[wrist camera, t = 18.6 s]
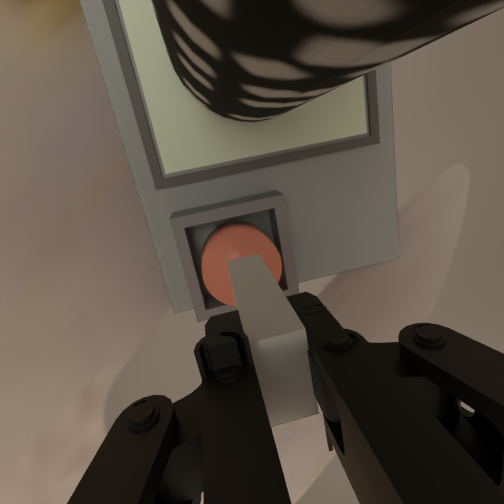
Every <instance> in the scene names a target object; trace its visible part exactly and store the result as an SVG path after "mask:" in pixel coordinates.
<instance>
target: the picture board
mask: <svg viewBox="0 0 504 504" xmlns="http://www.w3.org/2000/svg"><path fill="white" fill-rule="evenodd" d="M80 3H81V6H82V10H83V13H84V16H85V20H86V23H87V26H88V29H89V33H90V36H91V39H92V43H93V46H94V49H95V53H96V56H97V59H98V63H99V66H100V69H101V72H102V76H103V79H104V82H105V86H106V89H107V92H108V96H109V99H110V102H111V106H112V109H113V112H114V115H115V119H116V122H117V125H118V129H119V132H120V135H121V139H122V142H123V145H124V148H125V152H126V155H127V158H128V162H129V165H130V168H131V172H132V175H133V178H134V182H135V185H136V188H137V191H138V195H139V198H140V201H141V205H142V208H143V211H144V215H145V218H146V221H147V224H148V228H149V231H150V234H151V238H152V241H153V244H154V248H155V251H156V254H157V258H158V261H159V264H160V267H161V271H162V274H163V277H164V281H165V284H166V287H167V291H168V294H169V297H170V300H171V304H172V307H173V310H174V313H178V312H182V311H186V310H190V309H194V310H195V313H196V317H197V321H198V322H200V321H203V320H208V319H209V318H210V317H211V316H215V315H219V314H223V313H227V312H231V311H235V310H237V306H230V305H227V304H224V303H222V302H220V301H219V300H217V299H216V298H215V297H213V296H212V295H211V293H210V292H209V291H208V289H207V288H206V286H205V284H204V281H203V276H202V248H203V245H204V242H205V240H206V239H207V237H208V236H209V234H210V233H211V232H212V231H213V230H214V229H216V228H217V227H219V226H220V225H222V224H224V223H227V222H232V221H244V222H248V223H251V224H253V225H255V226H257V227H258V228H260V229H261V230H262V231H263V232H264V233H265V234H266V236H267V237H268V238H269V239H270V240H271V242H272V243H273V244H274V245H275V247H276V248H277V250H278V252H279V254H280V257H281V262H282V272H281V277H280V280H279V282H278V285H279V287H280V288H281V290H282V291H283V293H284V295H285V296H286V297H287V296H291V295H295V294H299V288H298V283H300V282H304V281H308V280H312V279H316V278H320V277H324V276H329V275H333V274H337V273H341V272H345V271H349V270H353V269H357V268H361V267H365V266H369V265H373V264H377V263H381V262H386V261H390V260H394V259H398V258H400V257H399V235H398V213H397V192H396V170H395V149H394V148H395V147H394V126H393V106H392V105H393V103H392V82H391V62H390V63H388V64H386V65H384V66H382V67H379V68H377V69H375V70H373V71H371V72H369V73H367V74H365V75H363V76H361V77H359V78H357V79H355V80H353V81H350V82H348V83H346V84H344V85H342V86H340V87H338V88H336V89H334V90H332V91H330V92H328V93H326V94H324V95H321V96H319V97H317V98H315V99H313V100H311V101H309V102H307V103H305V104H303V105H301V106H299V107H297V108H295V109H292V110H290V111H288V112H286V113H284V114H282V115H279V116H277V117H274V118H272V119H269V120H264V121H258V122H243V121H236V120H232V119H228V118H225V117H222V116H220V115H218V114H216V113H214V112H212V111H210V110H209V109H207V108H206V107H205V106H203V105H202V104H201V103H200V102H198V101H197V100H196V99H195V98H194V97H193V96H192V95H191V94H190V92H189V91H188V90H187V89H186V88H185V87H184V85H183V84H182V82H181V81H180V79H179V77H178V76H177V74H176V72H175V71H174V68H173V66H172V63H171V61H170V58H169V56H168V53H167V50H166V47H165V44H164V41H163V37H162V34H161V31H160V28H159V24H158V21H157V18H156V15H155V12H154V8H153V5H152V2H151V0H80Z"/></svg>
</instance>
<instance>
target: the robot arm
mask: <svg viewBox="0 0 504 504" xmlns="http://www.w3.org/2000/svg"><path fill="white" fill-rule="evenodd" d="M226 262H227V266H228V271H229V275H230V280H231V284H232V288H233V293H234V297H235V301H236V306H237V310H235V311H231V312H227V313H223V314H219V315H215V316H211V317H210V318H209V320H208V321H207V323H206V325H205V334H206V336H205V337H203V338H202V339H201V340H200V341H199V342H198V343H197V344H196V346H195V349H194V354H195V357H196V361H197V364H198V368H199V371H200V374H201V377H202V383H201V385H200V386H199V387H198V388H197V389H196V390H194V391H193V392H192V393H191V394H189V395H187V396H186V397H184V398H182V399H180V400H178V401H176V402H175V403H172V402H171V399H169V398H167V397H165V396H164V395H163V396H162V395H152V396H148V397H144V398H142V399H140V400H138V401H136V402H134V403H132V404H131V405H130V406H129V407H127V408H126V409H125V410H123V412H122V413H121V414H120V415H119V417H118V418H117V419H116V420H115V422H114V424H113V426H112V427H111V429H110V431H109V432H108V434H107V436H106V438H105V439H104V441H103V443H102V444H101V446H100V448H99V450H98V451H97V453H96V455H95V456H94V458H93V460H92V462H91V463H90V465H89V467H88V468H87V470H86V472H85V474H84V475H83V477H82V479H81V480H80V482H79V484H78V486H77V487H76V489H75V491H74V493H73V494H72V496H71V498H70V499H69V501H68V503H67V504H200V502H201V493H202V492H203V491H204V504H291V501H290V497H289V493H288V489H287V486H286V482H285V478H284V474H283V471H282V467H281V463H280V459H279V456H278V452H277V448H276V444H275V441H274V437H273V433H272V429H271V427H273V426H276V425H280V424H283V423H287V422H290V421H294V420H297V419H301V418H304V417H308V416H311V415H315V414H318V413H319V412H318V405H317V401H318V403H319V405H320V407H321V410H322V412H323V417H324V424H325V430H326V437H327V443H328V448H329V451H332V450H333V446H334V448H335V450H336V453H337V455H338V457H339V459H340V461H341V464H342V466H343V468H344V470H345V472H346V474H347V477H348V479H349V481H350V483H351V485H352V488H353V490H354V492H355V494H356V496H357V499H358V501H359V503H360V504H504V354H503V353H501V352H499V351H497V350H494V349H492V348H490V347H488V346H486V345H484V344H481V343H479V342H477V341H475V340H473V339H471V338H469V337H467V336H464V335H462V334H460V333H458V332H456V331H454V330H451V329H450V328H447V327H444V326H441V325H438V324H431V323H416V324H412V325H409V326H406V327H405V328H403V329H402V330H401V331H400V333H399V336H398V337H399V342H390V343H370V342H367V341H366V339H365V338H364V337H363V336H361V335H360V334H359V333H357V332H355V331H352V330H349V329H343V328H342V326H341V325H340V324H339V323H338V322H337V320H336V319H335V318H334V317H333V316H332V314H331V313H330V312H329V311H327V308H326V307H325V306H324V305H323V304H322V302H321V301H320V300H319V299H318V298H317V296H315V295H312V294H310V293H308V292H303V293H299V294H295V295H291V296H287V297H286V296H285V295H284V293H283V291H282V290H281V288H280V287H279V285H278V283H277V282H276V280H275V278H274V277H273V275H272V273H271V272H270V270H269V269H268V267H267V265H266V264H265V262H264V260H263V259H262V257H261V256H260V254H254V255H250V256H246V257H242V258H237V259H233V260H229V261H226ZM461 401H462V402H463V403H465V404H466V405H468V406H470V407H471V408H472V409H474V410H475V412H474V413H473V412H470V411H468V410H466V409H464V408H463V407H462V406H461ZM332 444H333V445H332Z"/></svg>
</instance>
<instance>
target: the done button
mask: <svg viewBox="0 0 504 504" xmlns="http://www.w3.org/2000/svg"><path fill="white" fill-rule="evenodd" d="M254 254H260V256H261V257H262V259H263V260H264V262H265V264H266V265H267V267H268V269H269V270H270V272H271V273H272V275H273V277H274V278H275V280H276V282H277V283H278V282H279V280H280V277H281V272H282V262H281V257H280V254H279V252H278V250H277V248H276V247H275V245H274V244H273V243H272V242H271V240H270V239H269V238H268V237H267V236H266V234H265V233H264V232H263V231H262V230H261V229H260V228H258V227H257V226H255V225H253V224H251V223H248V222H244V221H232V222H227V223H224V224H222V225H220V226H219V227H217V228H216V229H214V230H213V231H212V232H211V233H210V234H209V236H208V237H207V239H206V240H205V242H204V245H203V248H202V276H203V281H204V284H205V286H206V288H207V289H208V291H209V292H210V293H211V295H212V296H213V297H215V298H216V299H217V300H219V301H220V302H222V303H224V304H227V305H230V306H236V301H235V297H234V293H233V288H232V284H231V280H230V275H229V271H228V266H227V262H226V261H229V260H233V259H237V258H242V257H246V256H250V255H254Z"/></svg>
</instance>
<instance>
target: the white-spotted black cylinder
mask: <svg viewBox="0 0 504 504" xmlns="http://www.w3.org/2000/svg"><path fill="white" fill-rule="evenodd" d="M151 2H152V5H153V8H154V12H155V15H156V18H157V21H158V24H159V28H160V31H161V34H162V37H163V41H164V44H165V47H166V50H167V53H168V56H169V58H170V61H171V63H172V66H173V68H174V71H175V72H176V74H177V76H178V77H179V79H180V81H181V82H182V84H183V85H184V87H185V88H186V89H187V90H188V91H189V92H190V94H191V95H192V96H193V97H194V98H195V99H196V100H197V101H198V102H200V103H201V104H202V105H203V106H205V107H206V108H207V109H209V110H210V111H212V112H214V113H216V114H218V115H220V116H222V117H225V118H228V119H232V120H236V121H243V122H258V121H264V120H269V119H272V118H274V117H277V116H279V115H282V114H284V113H286V112H288V111H290V110H292V109H295V108H297V107H299V106H301V105H303V104H305V103H307V102H309V101H311V100H313V99H315V98H317V97H319V96H321V95H324V94H326V93H328V92H330V91H332V90H334V89H336V88H338V87H340V86H342V85H344V84H346V83H348V82H350V81H353V80H355V79H357V78H359V77H361V76H363V75H365V74H367V73H369V72H371V71H373V70H375V69H377V68H379V67H382V66H384V65H386V64H388V63H390V62H392V61H394V60H396V59H398V58H400V57H402V56H404V55H406V54H408V53H410V52H413V51H414V50H417V49H419V48H421V47H423V46H425V45H427V44H429V43H431V42H433V41H435V40H437V39H440V38H442V37H444V36H445V35H448V34H450V33H452V32H454V31H456V30H458V29H460V28H462V27H464V26H467V25H469V24H471V23H473V22H475V21H477V20H479V19H481V18H483V17H485V16H487V15H489V14H491V13H493V12H496V11H497V10H499V9H502V8H504V0H151Z"/></svg>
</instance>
